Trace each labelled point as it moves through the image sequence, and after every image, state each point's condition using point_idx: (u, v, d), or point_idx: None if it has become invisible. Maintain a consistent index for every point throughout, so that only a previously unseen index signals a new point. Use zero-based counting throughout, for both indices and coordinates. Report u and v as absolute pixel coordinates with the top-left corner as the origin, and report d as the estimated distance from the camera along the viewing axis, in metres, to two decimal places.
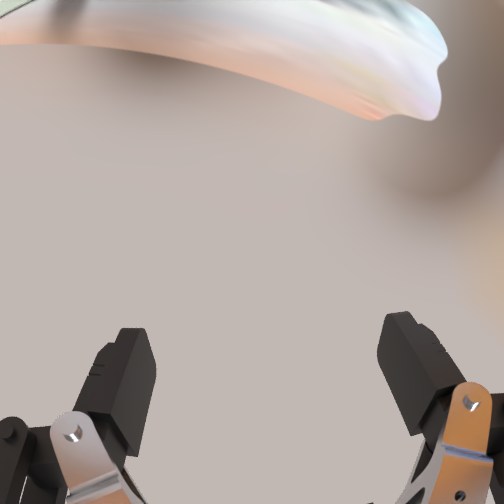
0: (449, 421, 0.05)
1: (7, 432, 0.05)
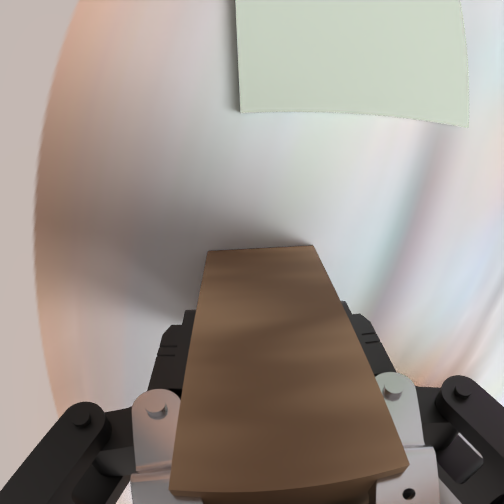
0: None
1: (80, 418, 0.06)
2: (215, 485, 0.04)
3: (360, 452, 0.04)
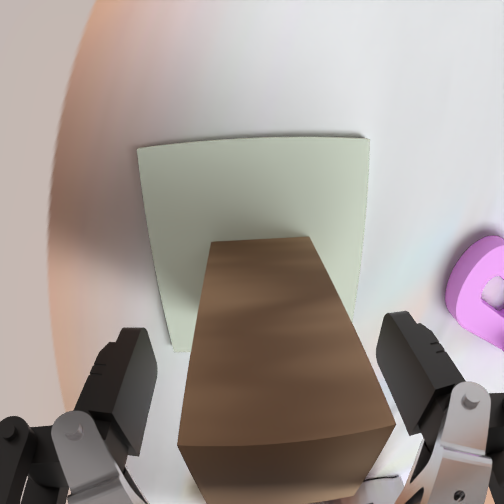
0: (448, 421, 0.05)
1: (8, 431, 0.05)
2: (219, 440, 0.05)
3: (350, 412, 0.05)
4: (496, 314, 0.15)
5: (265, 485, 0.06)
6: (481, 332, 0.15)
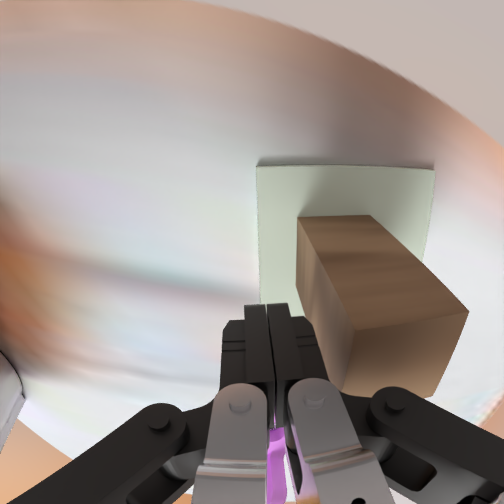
0: (299, 431, 0.06)
1: (158, 421, 0.06)
2: (460, 328, 0.08)
3: None
4: None
5: (403, 360, 0.09)
6: None
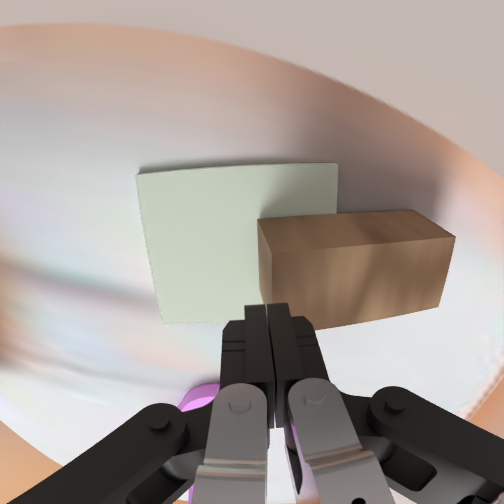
0: (299, 431, 0.06)
1: (158, 421, 0.06)
2: None
3: None
4: None
5: None
6: None
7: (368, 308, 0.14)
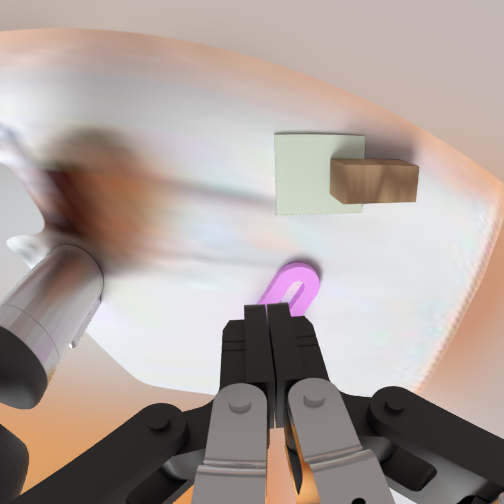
0: (299, 431, 0.06)
1: (158, 421, 0.06)
2: None
3: None
4: (281, 297, 0.39)
5: None
6: (271, 292, 0.39)
7: (382, 195, 0.30)
